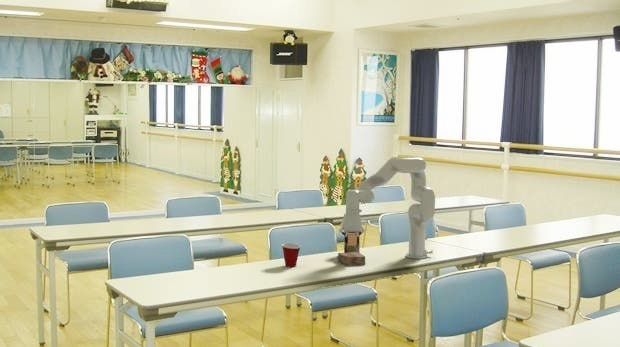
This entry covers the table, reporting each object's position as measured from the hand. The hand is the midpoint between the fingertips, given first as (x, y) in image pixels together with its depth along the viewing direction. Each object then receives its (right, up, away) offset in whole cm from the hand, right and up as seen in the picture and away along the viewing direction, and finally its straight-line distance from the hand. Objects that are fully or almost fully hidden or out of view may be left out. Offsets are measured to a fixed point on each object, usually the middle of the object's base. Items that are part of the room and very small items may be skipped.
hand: (351, 243), depth 382 cm
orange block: (0, -1, 0) cm, 1 cm away
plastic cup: (-34, -12, -9) cm, 37 cm away
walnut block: (0, -12, +1) cm, 12 cm away
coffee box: (+1, -10, +20) cm, 22 cm away
